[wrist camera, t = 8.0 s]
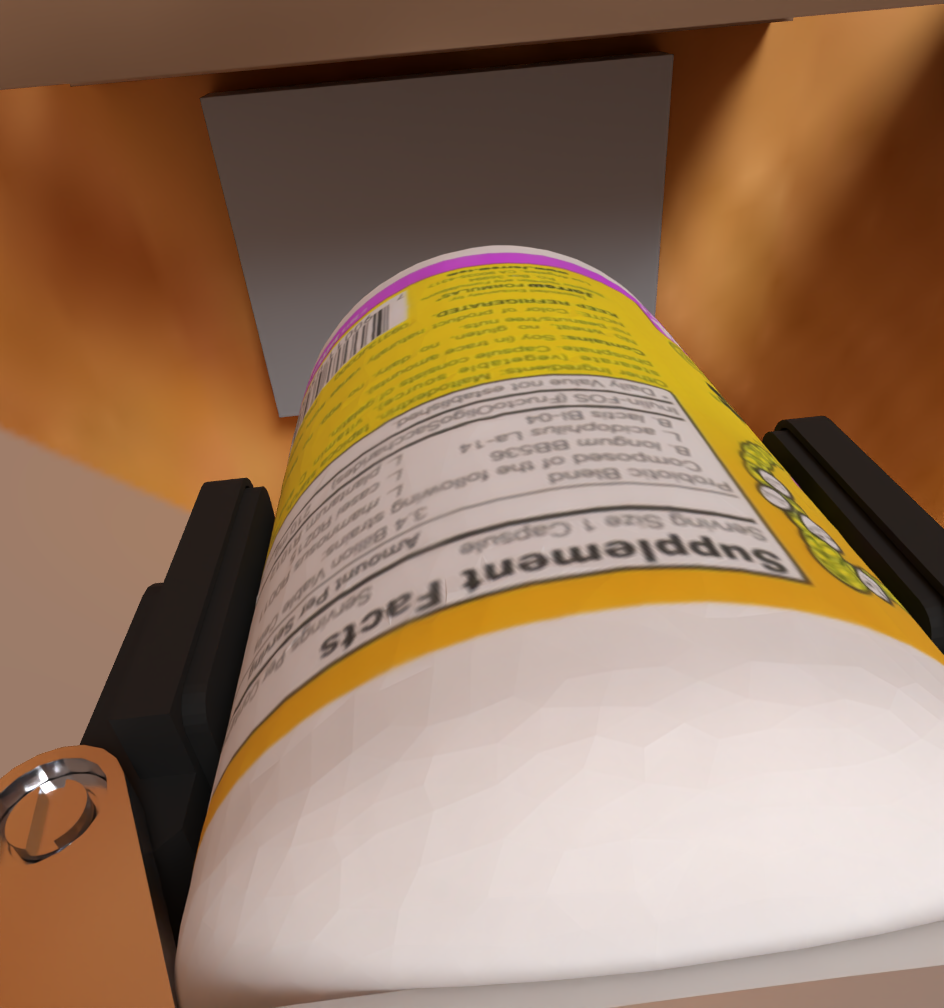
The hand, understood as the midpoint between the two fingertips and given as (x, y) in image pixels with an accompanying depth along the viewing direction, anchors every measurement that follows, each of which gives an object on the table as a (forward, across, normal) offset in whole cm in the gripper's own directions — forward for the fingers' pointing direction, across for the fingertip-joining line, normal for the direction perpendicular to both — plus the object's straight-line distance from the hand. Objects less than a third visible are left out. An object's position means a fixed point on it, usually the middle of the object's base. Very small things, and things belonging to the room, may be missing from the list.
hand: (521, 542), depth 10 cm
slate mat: (+14, 0, 0) cm, 14 cm away
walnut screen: (+14, 0, -6) cm, 16 cm away
